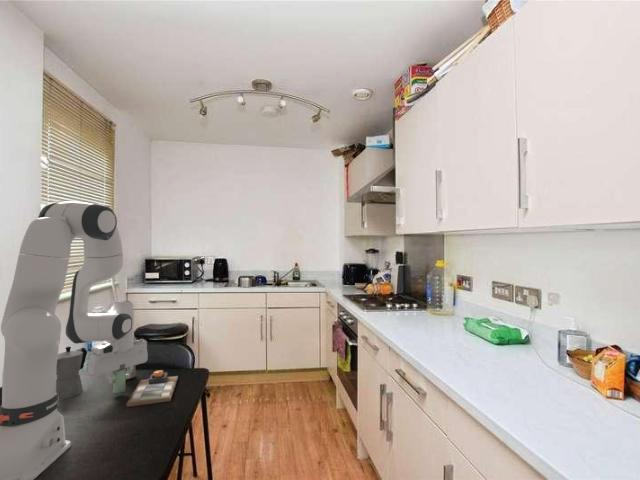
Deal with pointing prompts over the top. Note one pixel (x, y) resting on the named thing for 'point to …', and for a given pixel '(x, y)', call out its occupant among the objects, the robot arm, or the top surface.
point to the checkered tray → (153, 390)
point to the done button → (158, 374)
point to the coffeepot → (69, 372)
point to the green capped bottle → (119, 379)
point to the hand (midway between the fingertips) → (119, 380)
